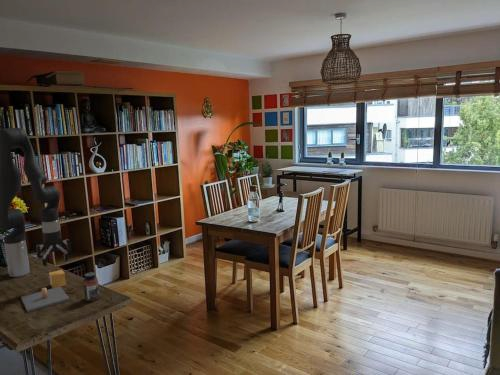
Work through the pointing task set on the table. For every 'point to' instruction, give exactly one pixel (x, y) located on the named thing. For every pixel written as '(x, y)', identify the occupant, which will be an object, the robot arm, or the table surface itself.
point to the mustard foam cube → (57, 278)
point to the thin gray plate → (44, 298)
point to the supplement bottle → (91, 287)
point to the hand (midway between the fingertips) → (55, 263)
